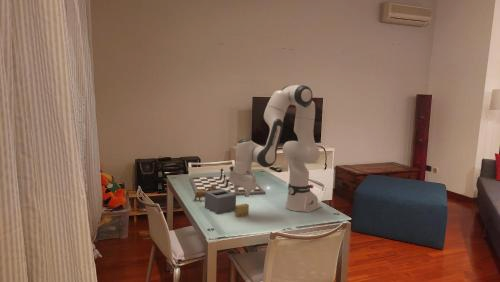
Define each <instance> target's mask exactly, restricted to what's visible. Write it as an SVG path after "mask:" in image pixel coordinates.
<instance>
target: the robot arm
mask: <svg viewBox="0 0 500 282" xmlns="http://www.w3.org/2000/svg"><path fill="white" fill-rule="evenodd" d="M313 95H314V94H313V91H312V89H311V88H310V87H309V86H307V85H304V84H303V85H301V84H294V85H286V86H284V87H283V88H282V89H281V90H279V89H277V90H275V91H274V92H273V94H272V95H271V97H270V99H269V101H268V102H267V105H266V107H265V110H264V113H263V120H264V122H265V123H266V124H267V125H268V127H269V132H268V137H267V139H266V144H265V146H262V145H260V144H258V143H257V142H254V141H253V140H252V139H251V138H250V139H249V138H244V139H240V140H238V141H237V143H236V147H235V162H234V165H230V166H229V169H228V170H229V174H228V176H229V181H230V183H233V184H234V189H235V192H236V193H238V192H239V189H238V186H240V187H242V188H245V189H246V191H247V192H246V193H245V195H244V197H246V198H249V197H250V195H249V194H250V192H251V191H253V190H255V189H256V184H257V179H256V175H255V174H254V172H252V164H253V163H256V164H258V165H260V166H261V167H263V168H271V167H272V166H273V165H274V164H275V163H276V161H277V155H278V154H277V153H278V152H277V151H278V147H279V144H280V140H281V136H282V133H283V129H284V118H285V116H286V113H287V110H288V108H289V106H291V105H292V106H295V109H296V110H295V118H294V123H293V124H294V125H293V126H294V127H293V132H294V133H295V134H296V137H297V140H288V141H285V143H284V144H283V146H282V153H283V156H285V158H286V160H287V164H288V168H289V183H288V186H287V187H288V188H287V190H288V191H287V198H286V202H285V208H286V209H287V210H289V211H294V212H305V213H311V212H313V211H315V210H317V209H319V208H322V206H323V205H322V204H321V203H319V201H318V200H319V199H318V196H317V195H316V194H315V193H313V192H312V190H311V189H313V188H314V185H313V184H309V180H310V171H309V169H308V168H307V167H306V165H305V164H315V163H316V162H318V160H319V158H320V155H321V152H320V148H318V146H317V144H316V140H315V137H314V127H315V119H316V103H315V102H314V101H313Z"/></svg>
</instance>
